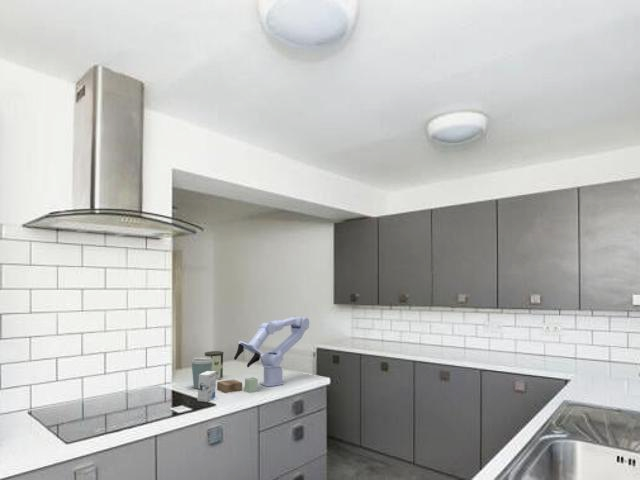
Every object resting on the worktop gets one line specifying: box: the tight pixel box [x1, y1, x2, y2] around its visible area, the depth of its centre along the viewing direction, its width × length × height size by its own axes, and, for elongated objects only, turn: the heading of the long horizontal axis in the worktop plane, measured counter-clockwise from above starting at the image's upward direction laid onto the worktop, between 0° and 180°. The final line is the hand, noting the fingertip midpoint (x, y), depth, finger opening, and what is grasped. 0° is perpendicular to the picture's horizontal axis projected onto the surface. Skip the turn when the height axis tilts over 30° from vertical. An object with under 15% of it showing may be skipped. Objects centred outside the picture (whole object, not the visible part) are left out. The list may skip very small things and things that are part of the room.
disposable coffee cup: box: [190, 356, 213, 390], centre depth 216 cm, size 11×11×15 cm
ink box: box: [197, 371, 217, 403], centre depth 194 cm, size 9×5×12 cm, turn 168°
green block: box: [244, 377, 259, 394], centre depth 208 cm, size 4×4×6 cm
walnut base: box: [216, 379, 243, 394], centre depth 211 cm, size 9×9×4 cm
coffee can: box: [204, 350, 224, 381], centre depth 237 cm, size 10×10×14 cm
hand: (241, 362), depth 208 cm, fingers open, 7 cm apart
